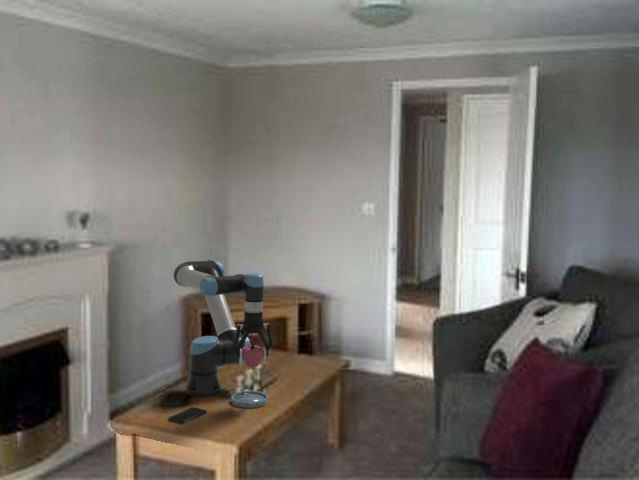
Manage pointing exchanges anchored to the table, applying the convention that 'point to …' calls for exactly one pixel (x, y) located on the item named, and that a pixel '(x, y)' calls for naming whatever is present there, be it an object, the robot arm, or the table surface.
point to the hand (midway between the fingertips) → (252, 364)
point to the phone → (187, 415)
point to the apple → (252, 355)
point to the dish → (250, 399)
